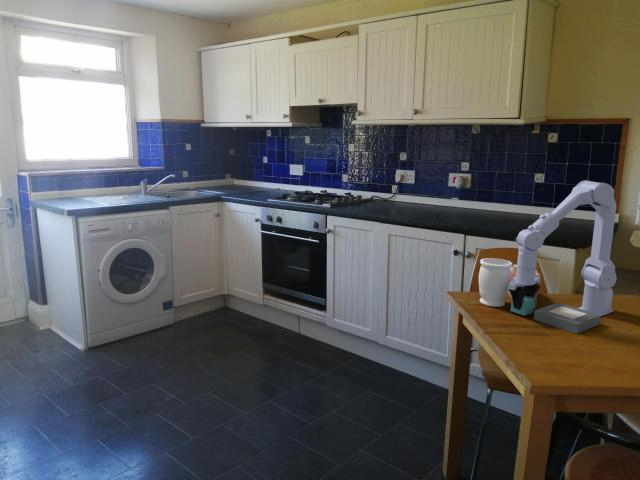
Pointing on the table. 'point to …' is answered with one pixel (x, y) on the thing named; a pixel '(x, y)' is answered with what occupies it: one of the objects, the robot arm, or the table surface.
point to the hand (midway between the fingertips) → (522, 307)
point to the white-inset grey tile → (567, 317)
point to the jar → (494, 281)
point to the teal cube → (524, 306)
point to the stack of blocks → (513, 274)
